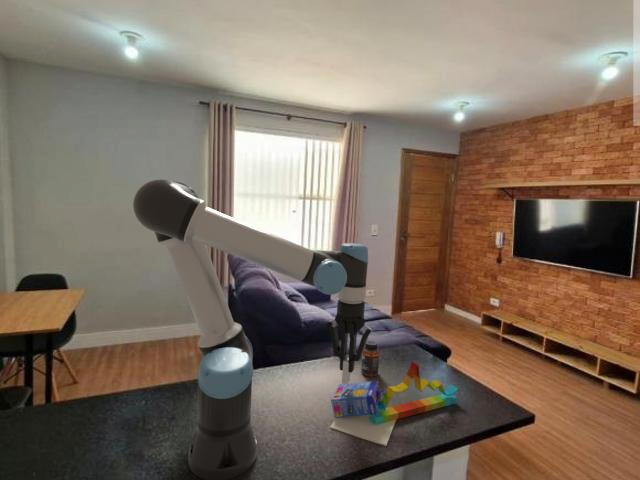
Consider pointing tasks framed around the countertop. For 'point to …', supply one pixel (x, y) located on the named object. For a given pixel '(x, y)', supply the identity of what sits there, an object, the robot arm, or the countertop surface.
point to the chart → (415, 406)
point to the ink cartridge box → (356, 399)
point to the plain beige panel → (364, 428)
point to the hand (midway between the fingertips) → (345, 381)
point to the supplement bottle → (370, 359)
